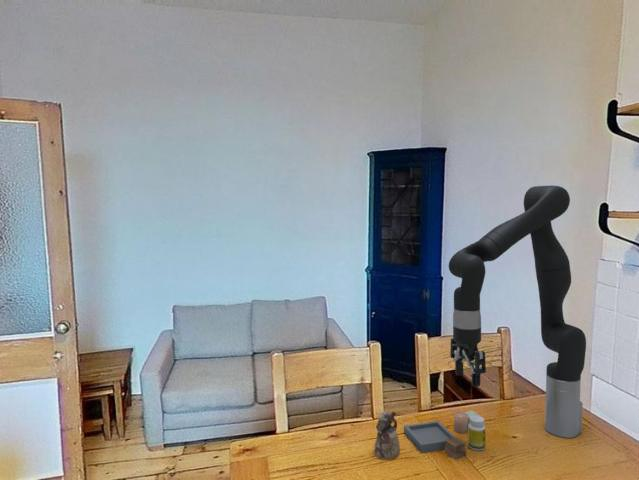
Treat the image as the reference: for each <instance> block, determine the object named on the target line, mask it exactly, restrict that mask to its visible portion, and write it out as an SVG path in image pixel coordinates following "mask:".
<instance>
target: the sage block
mask: <svg viewBox="0 0 639 480" xmlns="http://www.w3.org/2000/svg"><path fill="white" fill-rule="evenodd" d="M463 412H464V413H466V414H468V425H469V423H470V422H469V421H470V417H471V416H480V417H482V416H481V415H479V414H478V413H477V412H475V411H474V410H468V411H463ZM467 430H468V427H467Z"/></svg>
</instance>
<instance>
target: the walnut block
mask: <svg viewBox="0 0 639 480" xmlns="http://www.w3.org/2000/svg"><path fill="white" fill-rule="evenodd" d="M444 454H445V455H447V456H449V457H450V458H451V459H453V460H454V461H456V460H459V459H462V458H465V457H466V456H467V455H466V454H467V442H466V441H464V440H463V439H461V438H459V437H457V436H455V435H454V437H452V438H449V439H446V440H445V449H444Z"/></svg>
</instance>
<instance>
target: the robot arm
mask: <svg viewBox="0 0 639 480" xmlns="http://www.w3.org/2000/svg"><path fill="white" fill-rule="evenodd" d="M570 202H571V198H570V194H569V192H568V190H567V189H566V188H564V187H563V186H560V185H534V186H532V187H529V188H528V190H527V191H526V192H525V194H524V197H523V210H524V212H522V213H520V214H518V215H517V216H515V217H512V218H511V219H509V220H506V221H505V222H502V223H500V224H499V225H497V226H495V227H493V228H492V229H490V231H489V232H488V233H486V234H485V235H484V236H482V237H481V238H479V240H477V241H475V242H473V243H471V244H469V245H467V246H466V247H463V248H461V249H460V250H458V251H457V252H455V253H454V254H453V255H452V256H451V258H450V259H449V261H448V270H449V273H451V274H452V275H453V276H454V277H456V278H460V279H461V284H460V286H459V287H456V288H455V289H454V290H453V291H454V292H453V313H452V331H453V332H452V334H453V335H452V338H450V353H449V354H450V358H451V359H453V362H454V363H455V364H454V367H455V370H454V371H455V372H454V373H455V375H456V377H457V376H458V377H459V376H463V375H464V361H465V362H466V364H467V366H468V367H469V368H470V371H471V386H472V387H474V388H477V387H480V386H481V374H485V373H487V367H486V366H487V365H486V352H485V351H484V350H481V351H480V350H479V348H478V344H480V343H481V342H482V314H481V293H482V289H483V285H484V280H485V277H486V266H485V263H486V262H493V261H495V260H496V259H498V258H500V257H501V256H502V255H503V254H504V253H505V252H507V251H508V250H509V249H511V247H513V246H515V244H518V242H520V241H521V240H523V239H524V238H525V237H527V236H529V235H530V240H531V247H532V251H533V258H534V267H535V276H536V282H537V287H538V295H539V296H538V297H539V303H540V304H539V305H540V307H539V308H540V333H541V336H540V337H541V340H542V343H543V345H544V346H545V347H546V348H547V349H548V350H550V351H552V352H554V353H557V354H558V355H557V361H554V362H550V363H548V364H547V365H546V370H545V373H546V377H545V379H546V380H545V406H544V407H545V410H544V413H545V415H544V416H545V417H544V429H545V430H546V432H548V433H549V434H551V435H554V436H556V437H560V438H565V439H566V438H567V439H569V438H572V439H573V438H576V437H577V436H579V434H582V432H583V431H582V430H583V429H582V426H583V402H582V401H581V383H582V382H581V378H582V373H583V371H584V368H585V359H586V352H587V339H586V334H585V333H584V331H583V330H582V329H581V328H579V327H577V326H574V325H571V324H570V323H569V324H568V323H566V322H565V318H564V311H563V306H564V305H563V304H564V300H565V298H566V296H567V295H568V293H569V290H570V287H571V284H572V273H571V264H570V260H569V257H568V254H567V253H566V250H565V249H564V247H563V246H562V245H561V243H560V242H559V240H558V238H557V236H556V235H555V232H554V230H553V226H552V221H554V220H555V219H557V218H559V217H560V216H562V215H563V214H565V212H566V211H568V209H569V207H570Z"/></svg>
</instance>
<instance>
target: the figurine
mask: <svg viewBox="0 0 639 480" xmlns="http://www.w3.org/2000/svg"><path fill="white" fill-rule="evenodd" d="M396 414H397V413H396V412H395V410H393V411H392V412H391V413H389V412H388V411H383V412H382V413H380V414H379V417H378V421H377V423H376V425H375V429H376V431H377V433H376V439H375V443H374V449H373V451H374V452H373V453H374V456H376V457H377V458H379V459H381V460H385V461H389V460H390V461H391V460H394V459H396V458H398V456H400V449H401V448H400V441H399V435H398V433H397V429H398V421H397V420H396V418H395V416H396ZM392 423H394V424H393V425H392Z"/></svg>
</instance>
